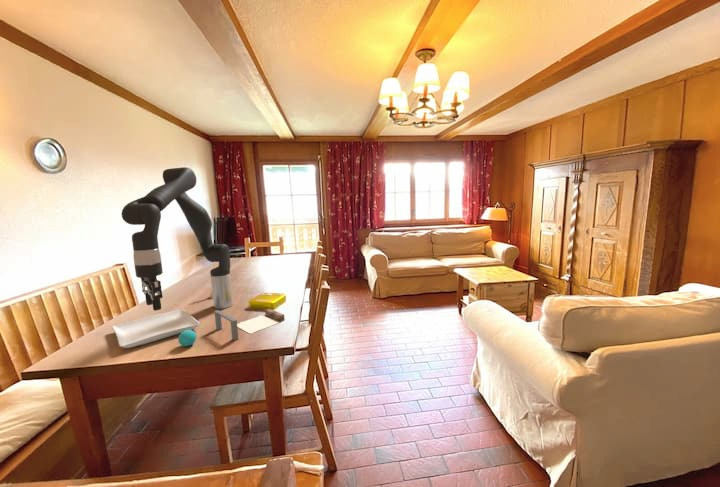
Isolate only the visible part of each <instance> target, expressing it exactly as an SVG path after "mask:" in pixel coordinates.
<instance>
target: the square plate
mask: <svg viewBox="0 0 720 487" xmlns="http://www.w3.org/2000/svg"><path fill="white" fill-rule="evenodd" d="M200 324H201V322H200V321H198V320H197V319H196V318H195V317H194V316H192V315H191V314H190V313H189V312H188V311H186V310H185V309H183V308H181V309H177V310H172V311H168V312H163V313H159V314H155V315H149V316H145V317H142V318H138V319H134V320H130V321H127V322H123V323H119V324H115V325H112V327H111V329H112V330H113V332H114V334H115V336H116V339H117V342H118V346H119V347H120V348H121V347H122V348H124V349H130V348H131V349H132V348H134V347H139V346H143V345H147V344H150V343H153V342H157V341H160V340H163V339H167V338H169V337H174V336H177V335H180V334H181V333H182V332H183V331H186V330H192V331H193V330H195V329H196V328H198V327H199V326H200Z"/></svg>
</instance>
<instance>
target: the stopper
mask: <svg viewBox="0 0 720 487" xmlns="http://www.w3.org/2000/svg"><path fill="white" fill-rule="evenodd" d="M264 312H265V316H268V317H269V318H271V319H272V318H273V320H276V321H278V322H283V321H285V314H284V313H281V312H279V311H276V310H275V309H274V310H271V309H266V310H264Z"/></svg>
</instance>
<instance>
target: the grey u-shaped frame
mask: <svg viewBox="0 0 720 487" xmlns="http://www.w3.org/2000/svg"><path fill="white" fill-rule="evenodd" d="M222 318H224V319H226V320H227V321H229V322H230V330H231V339H232V340H233V341H238V340H239V332H238V331H239V330H238V329H239V328H238V327H237V324H238V320H237V319H236V318H234V317H232V316H230V315H228V314H226V313H225V312H222V311H221V310H219V309H216V310H214V321H215V329H216V330H218V331H220V330H223V326H222Z"/></svg>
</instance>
